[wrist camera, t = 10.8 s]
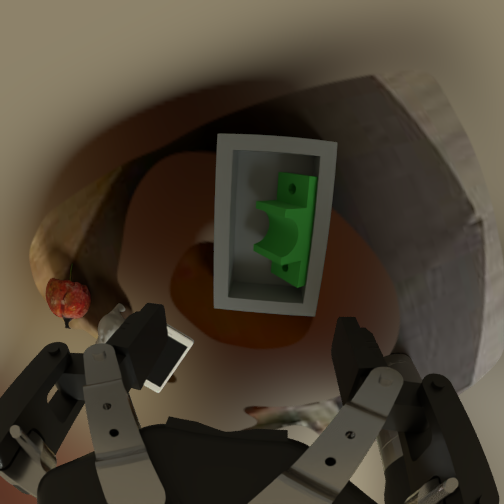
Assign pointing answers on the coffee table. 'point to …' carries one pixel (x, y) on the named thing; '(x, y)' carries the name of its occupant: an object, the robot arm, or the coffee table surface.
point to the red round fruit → (68, 298)
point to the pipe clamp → (289, 227)
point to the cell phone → (168, 359)
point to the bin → (266, 220)
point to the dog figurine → (110, 324)
